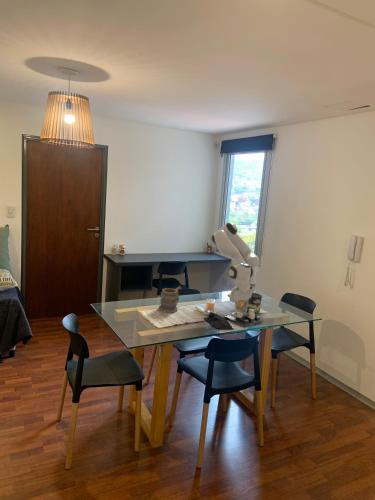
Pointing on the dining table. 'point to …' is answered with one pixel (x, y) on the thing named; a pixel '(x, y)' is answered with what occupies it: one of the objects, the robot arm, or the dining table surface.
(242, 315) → the toggle left
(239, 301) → the lockout cap
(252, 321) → the breaker panel
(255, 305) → the coffee can
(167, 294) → the tankard
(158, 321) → the dining table surface
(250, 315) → the toggle tagged
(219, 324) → the dark slate chunk
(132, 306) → the dining table surface
